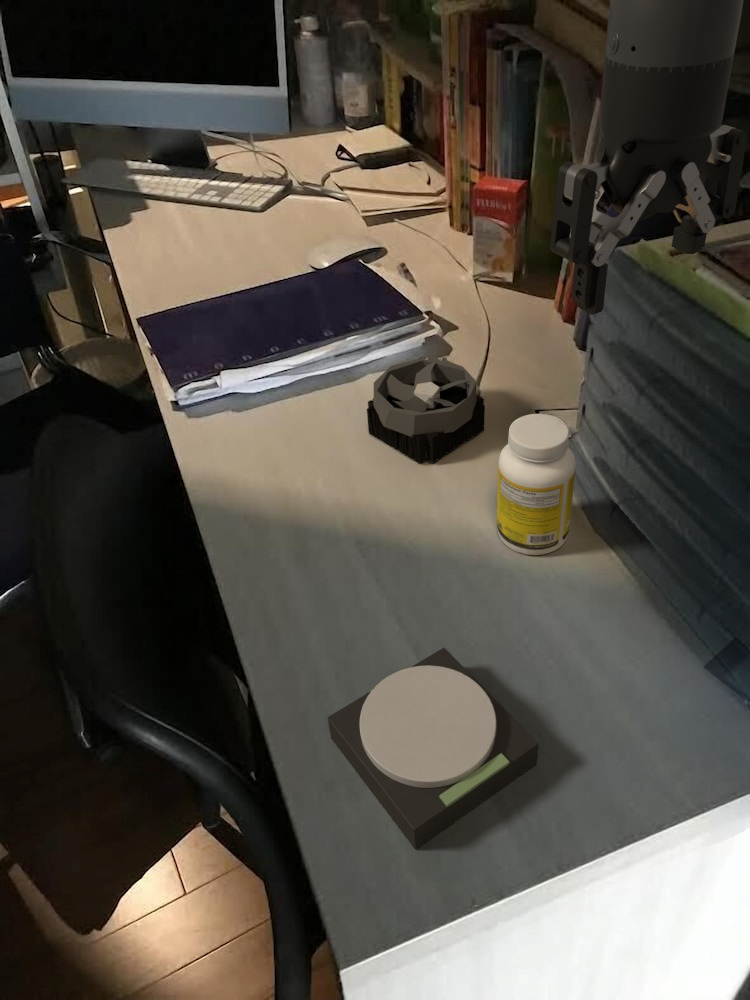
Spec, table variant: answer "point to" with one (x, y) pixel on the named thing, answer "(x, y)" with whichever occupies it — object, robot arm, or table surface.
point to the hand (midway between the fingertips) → (636, 294)
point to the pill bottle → (535, 485)
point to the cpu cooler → (425, 408)
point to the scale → (432, 745)
